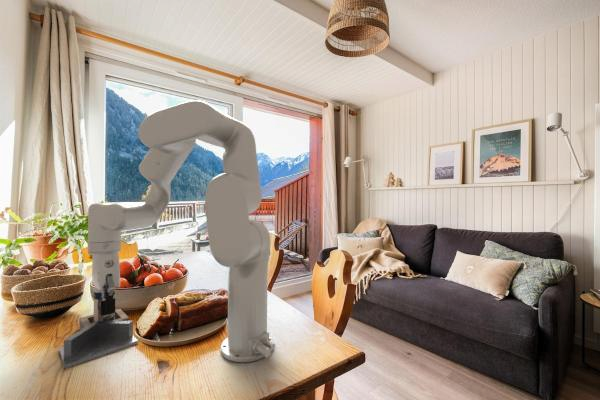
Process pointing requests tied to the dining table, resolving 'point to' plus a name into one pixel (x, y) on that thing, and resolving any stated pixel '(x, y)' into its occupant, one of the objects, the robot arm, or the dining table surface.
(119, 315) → the grey square frame
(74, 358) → the v block
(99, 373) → the dining table surface
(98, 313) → the beer can
